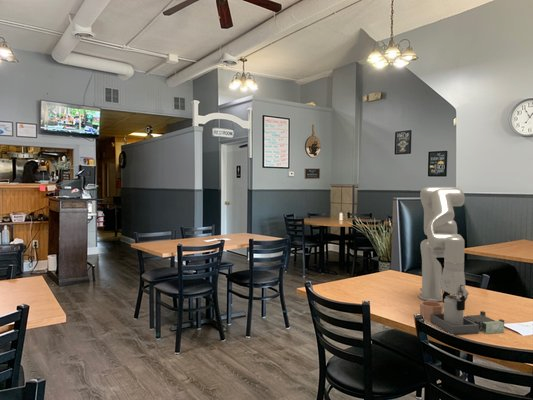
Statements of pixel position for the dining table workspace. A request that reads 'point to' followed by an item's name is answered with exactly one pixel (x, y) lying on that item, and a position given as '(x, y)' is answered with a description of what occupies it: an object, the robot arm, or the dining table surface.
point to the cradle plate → (478, 319)
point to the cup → (430, 308)
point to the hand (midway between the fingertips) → (453, 306)
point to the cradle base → (491, 326)
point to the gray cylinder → (452, 311)
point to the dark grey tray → (463, 329)
